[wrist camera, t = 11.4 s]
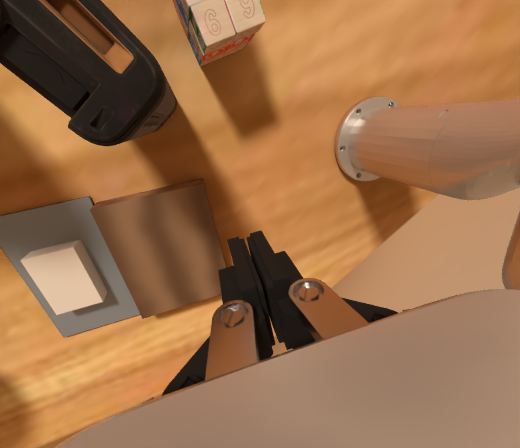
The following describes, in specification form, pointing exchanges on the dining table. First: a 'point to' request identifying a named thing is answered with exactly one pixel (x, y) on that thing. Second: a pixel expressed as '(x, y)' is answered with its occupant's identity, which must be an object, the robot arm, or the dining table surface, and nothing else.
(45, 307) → the mat
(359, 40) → the dining table surface
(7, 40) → the electronic device
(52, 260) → the tile
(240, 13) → the stack of blocks
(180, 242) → the plate
